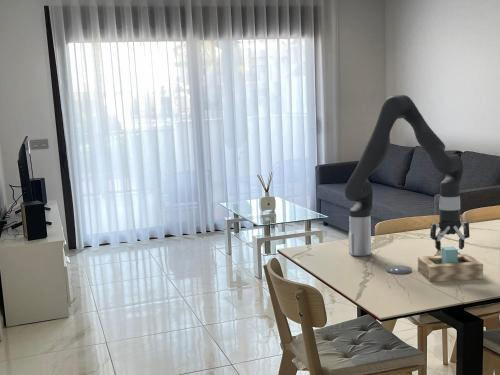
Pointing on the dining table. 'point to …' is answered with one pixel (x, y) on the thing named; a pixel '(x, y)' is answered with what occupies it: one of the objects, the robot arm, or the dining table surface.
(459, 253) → the rock
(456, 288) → the dining table surface
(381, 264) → the dining table surface
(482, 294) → the dining table surface
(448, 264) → the box
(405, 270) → the coaster
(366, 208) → the robot arm
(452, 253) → the block
